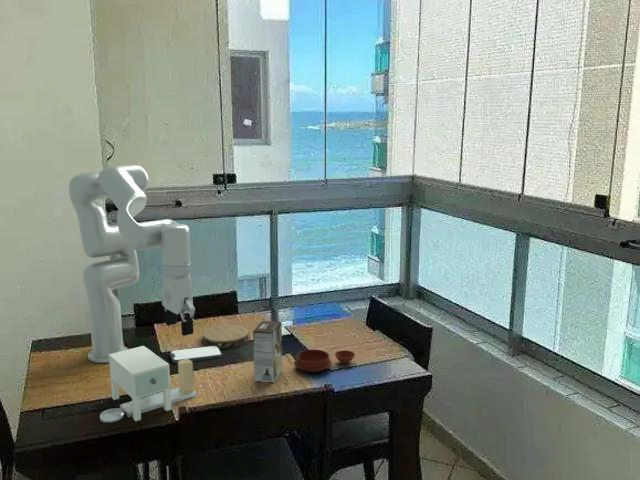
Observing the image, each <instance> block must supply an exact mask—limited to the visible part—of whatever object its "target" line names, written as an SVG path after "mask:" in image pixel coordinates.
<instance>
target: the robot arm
mask: <svg viewBox="0 0 640 480" xmlns="http://www.w3.org/2000/svg"><path fill="white" fill-rule="evenodd" d="M149 179H150V178H149V175H148V173H147V172H146V170H145V168H143V167H142V166H140V165H138V164H125V165H112V166H111V165H110V166H108V167H104V168H103V169H102V170H100V171H92V172H84V173H80V174H77V175H75V176H73V177H72V178H71V179H70V181H69V185H68V194H69V198H70V201H71V204H72V206H73V208H74V210H75V212H76V216H77V220H78V226H79V227H78V228H79V231H80V237H81V238H80V239H81V244H82V247H83V251H84V254H85V255H86V256H87V257H88V258H92V259H96V258H97V259H98V258H105V257H109V256H114V255H115V256H117V258H114V259H106V260H102V261H97V262H94V263H91V264H89V265H87V266H86V267H85V268H84V270H83V272H82V281H83V283H84V286H85V290H86V291H85V292H86V295H87V302H88V313H89V323H90V334H91V335H90V336H91V347H92V350H90V351H89V352H88V354H87V359H88V360H89V361H91V362H93V363H97V364H98V363H99V364H100V363H101V364H102V363H103V364H104V363H106V364H107V363H109V354H113V353H116V352H120V351H124V350H128V349H129V348H128V347H127V346H124V340H123V338H124V337H123V327H122V325H123V324H122V311H121V303H120V300H119V298H118V296H116V295H115V294H114V293H113V290H117V289H121V288H125V287H128V286H132V285H134V284H136V283H137V282H138V281H139V278H140V268H139V265H140V264H139V260H138V254H137V253H138V252H137V251H143V252H144V251H148V250H153V249H159V248H161V262H162V263H161V265H162V266H161V268H162V281H161V305H162V306H163V307H164V311H165V312H164V313H165V325H166V326H172V325H176V324H177V323H178V315H180V318H181V320H182V321H180V324H181V326H180V327H181V336H183V337H185V336H189V335H193V334H194V319H195V318H194V317H195V313H196V312H195V311H196V308H195V306H194V301H193V298H194V297H193V296H194V295H193V288H192V287H193V285H192V281H191V280H192V279H191V276H192V264H191V263H192V262H191V261H192V260H191V259H192V257H191V255H192V254H191V237H190V236H191V233H190V227H189V226H188V225H187V224H185V223H178V222H177V221H175V220H173V219H170V218H166V219H165V218H163V219H157V220H151V221H143V222H137V221H136V220H135V219H134V217H136V216H137V215H138V214H139V213H141V212H142V211H143V210H144V209H145V207H146V205H147V201H148V199H147V194H145V191H146V190H147V189H148V187H149V183H150V181H149ZM107 199H110V201H111V202H112V203H113V204H114V205H115V207H116V208H117V209H118V210H117V214H116V224H112V225H110V224H109V221H108V216H107V212H106V210H105V208H103V206H102V205H101V204H100V203H99V202H98V201H97V200H107Z"/></svg>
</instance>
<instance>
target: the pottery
mask: <svg viewBox="0 0 640 480" xmlns="http://www.w3.org/2000/svg"><path fill="white" fill-rule="evenodd" d="M334 355H335V358H337V360H338V362H339V364H340V365H343V366H344V365H345V366H346V365H347V364H348V365H349V364H350V363H351V361H353V359H354V358H355V356H356V354H355V352H353V351H350V350H339V351H336V352H335V353H334ZM293 365H294V366H295V367H296V368H297V369H300V370H302V371H306V372H307V373H319V372H321V371H323V370H327V369H329V368H330V367H331V366H332V365H333V361H332V360H331V359H330V354H329V353H328V352H327V351H325V350H321V349H305V350H301V351H300V352H298V353H297V354H296V359H295V360H294V364H293Z"/></svg>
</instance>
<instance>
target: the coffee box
mask: <svg viewBox="0 0 640 480" xmlns="http://www.w3.org/2000/svg"><path fill="white" fill-rule="evenodd" d="M282 331H283V329H282V322H281V321H269V320H268V321H266V320H262V321H261V322H260V323H259V324H257V326H256V327H255V328H254V330H253V332H252V333H253V336H252V337H253V366H254V367H253V370H254V371H253V372H254V382H257V381H261V382H260V383H268V382H273V383H272V384H274V383H275V382H277V379H278V377H280V374H281V373H282V372H283V340H282V339H283V337H282Z"/></svg>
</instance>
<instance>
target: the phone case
mask: <svg viewBox="0 0 640 480" xmlns="http://www.w3.org/2000/svg"><path fill="white" fill-rule="evenodd" d="M169 356H170V359H171V362H172V363H173V364H174V365H178V361H180V360H184V359H189V360H191V361H192V362H193V363H194V362H198V361H206V360H207V361H208V360H213V359H220V358H222V357H223V352H222V351H221V348H219V347H218V346H202V347H192V348H184V349H183V348H182V349H177V350H176V349H175V350H174V349H173V350H171V351H170V353H169Z"/></svg>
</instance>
